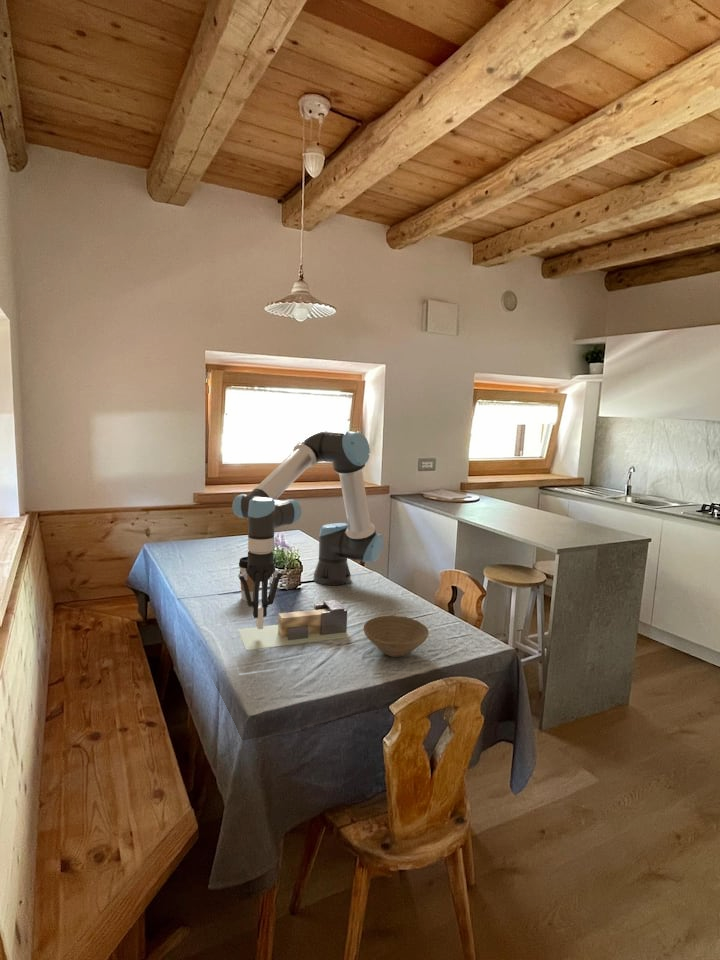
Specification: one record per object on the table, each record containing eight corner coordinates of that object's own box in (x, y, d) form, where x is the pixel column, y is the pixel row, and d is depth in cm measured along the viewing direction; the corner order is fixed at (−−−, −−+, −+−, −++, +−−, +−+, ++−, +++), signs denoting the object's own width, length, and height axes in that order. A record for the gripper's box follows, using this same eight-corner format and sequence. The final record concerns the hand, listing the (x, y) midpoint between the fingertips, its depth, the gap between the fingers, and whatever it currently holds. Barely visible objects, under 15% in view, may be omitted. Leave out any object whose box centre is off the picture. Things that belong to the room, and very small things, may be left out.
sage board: (334, 619, 176) (334, 618, 176) (351, 637, 162) (351, 636, 162) (237, 630, 164) (237, 629, 163) (246, 651, 150) (246, 650, 150)
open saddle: (299, 625, 168) (299, 615, 168) (308, 637, 160) (308, 626, 159) (280, 627, 166) (281, 617, 165) (288, 640, 157) (288, 629, 157)
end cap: (321, 635, 162) (322, 610, 161) (313, 625, 169) (314, 601, 168) (346, 632, 165) (347, 608, 164) (337, 622, 172) (338, 599, 171)
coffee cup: (256, 603, 186) (257, 562, 184) (234, 601, 188) (234, 559, 186) (265, 595, 194) (266, 556, 193) (243, 593, 196) (244, 553, 194)
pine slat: (333, 625, 170) (334, 607, 169) (337, 630, 166) (338, 612, 165) (278, 632, 163) (278, 613, 162) (281, 637, 159) (281, 618, 158)
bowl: (408, 676, 140) (410, 647, 139) (350, 656, 150) (351, 629, 149) (436, 651, 156) (438, 625, 155) (382, 634, 165) (383, 610, 164)
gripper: (279, 546, 161) (277, 619, 164) (236, 548, 156) (235, 624, 159) (285, 552, 154) (284, 629, 158) (240, 555, 149) (239, 635, 153)
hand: (259, 627), depth 158 cm, fingers closed
